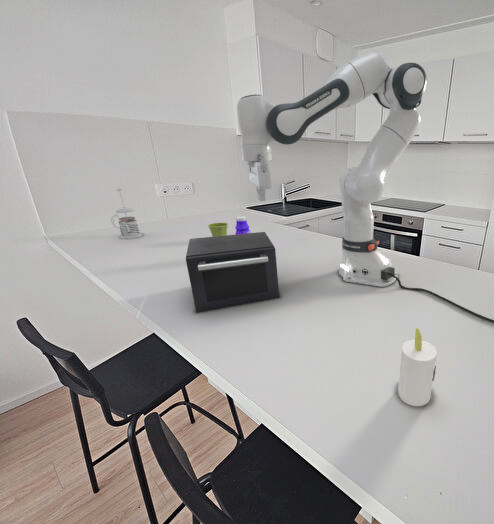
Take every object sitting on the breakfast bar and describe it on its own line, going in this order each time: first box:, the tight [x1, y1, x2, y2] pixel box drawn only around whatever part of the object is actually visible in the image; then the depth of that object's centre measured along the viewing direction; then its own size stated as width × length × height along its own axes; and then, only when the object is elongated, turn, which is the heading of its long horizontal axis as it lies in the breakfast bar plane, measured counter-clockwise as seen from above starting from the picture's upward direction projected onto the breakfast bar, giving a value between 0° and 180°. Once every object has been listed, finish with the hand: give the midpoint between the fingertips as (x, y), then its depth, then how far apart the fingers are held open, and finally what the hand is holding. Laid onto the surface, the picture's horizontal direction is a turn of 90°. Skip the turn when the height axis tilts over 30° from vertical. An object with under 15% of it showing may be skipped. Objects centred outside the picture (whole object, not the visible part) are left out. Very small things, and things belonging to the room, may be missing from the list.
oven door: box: [185, 246, 280, 313], centre depth 86 cm, size 5×24×17 cm, turn 114°
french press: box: [110, 187, 143, 240], centre depth 153 cm, size 10×12×25 cm
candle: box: [397, 327, 438, 407], centre depth 56 cm, size 6×6×15 cm
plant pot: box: [207, 222, 229, 237], centre depth 150 cm, size 9×9×9 cm
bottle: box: [234, 215, 252, 235], centre depth 129 cm, size 7×6×17 cm
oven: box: [185, 231, 275, 258], centre depth 97 cm, size 18×24×17 cm
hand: (262, 200), depth 96 cm, fingers closed
